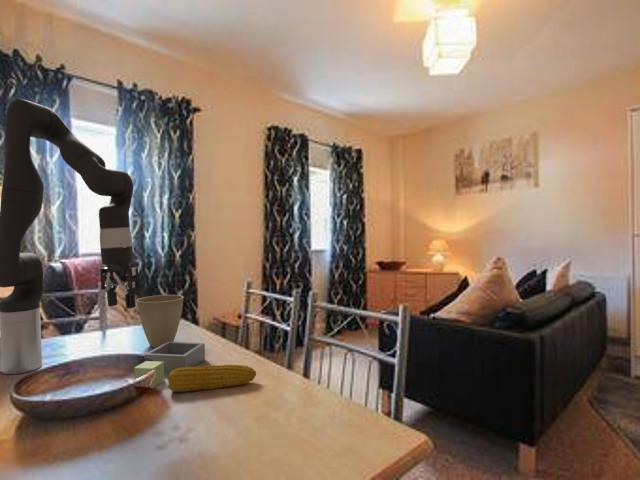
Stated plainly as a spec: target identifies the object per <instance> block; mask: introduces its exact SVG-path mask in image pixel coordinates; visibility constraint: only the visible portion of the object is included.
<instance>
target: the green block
mask: <svg viewBox="0 0 640 480" xmlns="http://www.w3.org/2000/svg"><path fill="white" fill-rule="evenodd" d="M154 369H155V370H156V375H155V378H154V380H153V381H152V383H151V385H150V388H149V389H154V388H155V387H157V386H158V385H160V384H161V383H163V382H164V381H165V373H164V362H158V361H143V362H142V363H140V364H139V365H136V366H134V370H133V371H134V380H135V379H136V378H139V377H141V376H143V375H145V374H147V373H148V372H150V371H152V370H154Z"/></svg>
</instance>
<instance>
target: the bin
mask: <svg viewBox="0 0 640 480" xmlns="http://www.w3.org/2000/svg"><path fill="white" fill-rule="evenodd" d="M205 346H206V345H205V342H187V341H186V342H185V341H174V342H166V343H165V344H163V345H161V346H159V347H154V349H152V350H150V351H148V352H146V353H144V355H143V356H144V357H143V358H150V359H152V360H153V361H158V362H164V374H168V375H169V374H170V372H171V371H173V370H175V369H178V368H180V367H195V366H196V367H197V366H199V365H200V364H201V363H202V362H203V360H204V359H205V360H206V349H205V348H206V347H205ZM205 360H204V361H205ZM200 362H201V363H200ZM199 363H200V364H199Z"/></svg>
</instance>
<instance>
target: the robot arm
mask: <svg viewBox="0 0 640 480" xmlns="http://www.w3.org/2000/svg"><path fill="white" fill-rule="evenodd" d="M5 113H6V114H5V119H4V121H5V124H4V125H5V126H4V129H5V137H4V138H5V154H4V155H5V157H4V159H5V160H4V169H3V170H4V171H3V172H4V173H3V180H2V185H1V194H0V288H3V289H5V288H12V287H13V290H12V292H11V293H10V294H8V296H6V297H4V298H3V299H2V300H0V372H1V373H2V374H4V375H18V374H25V373H28V372H32V371H35V370H37V369H39V368H41V367H42V366H43V354H42V351H43V350H42V349H43V348H42V330H41V329H42V327H41V326H42V324H41V323H42V322H41V307H40V306H41V300H42V297H43V294H44V293H43V291H44V290H43V289H44V267H43V262H42V260H41V258H40V257H39V255H37V254H35V253H32V252H21V249H22V242H23V240H24V237H25V235H26V233H27V232H28V230H29V228H30V227H31V226H32V225H33V223H35V221H36V219H37V218H38V216H39V215H40V213H41V210H42V207H43V200H44V189H45V188H44V183H43V179H42V178H41V175H40V173H39V171H38V169H37V167H36V165H35V163H34V161H33V157H32V155H31V138H34V139H42V140H45V141H47V142H49V143H50V144H53V146H56V147H57V148H58V149H59V154H60V156H61V159H62V160H63V161H64V162H65V164H67V165H68V167H70V168H71V169H72V170H73V171H75V172H76V173H77V174H79V175H80V176H81V179H82V181H83V183H85V185H86V186H87V188H88V189H89V191H91V192H93V193H94V194H96V195H99V196H101V197H110V201H109V204H108V205H104V206H101V207H100V208H99V210H98V221H99V222H98V223H99V245H100V246H99V248H100V259H101V265H103V266H107V267H100V269H99V271H100V273H99V274H100V288H101V290H102V291H104V292H105V293H106V295H107V296H106V297H107V299H106V300H107V306H108V307H115V306H118V298H117V297H118V294H117V289H118V287H120V288H121V289H122V290H123V291H124V299H125V308H126V309H133V308H135V307H136V306H137V305H136V296H135V295H136V293H137V292H139V291H140V290H141V284H140V276H139V275H140V274H139V268H138V267H137V266H136V267H130V264H131V263H134V261H135V259H134V248H133V236H132V233H131V225H130V224H131V223H130V210H131V209H130V208H131V203H132V198H133V193H134V183H133V179H132V177H131V175H130V174H129V173H128V172H126V171H125V170H124V171H123V170H119V169H118V170H117V169H111V168H106V162H105V159H103V157H101V156H100V155H99V154H98V153H97V152H95V151H94V150H93V149H92V148H90V147H89V146H88V145H87V144H86V143H84V142H83V141H82V140H81V139H80V138H78V137H77V136H76V134H74V132H73V131H72V130H71V129H70V128H69V127H68V126H67V125H66V123H65V121H63V120H62V118H61V117H60V116H59V114H57V113H56V112H55V111H54V109H51V108H50V107H47V106H46V105H42V104H39V103H36V102H33V101H30V100H27V99H23V98H15V99H13V100H11V101H10V103H9V105H8V106H7V109H6V112H5Z"/></svg>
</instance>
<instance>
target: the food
mask: <svg viewBox="0 0 640 480" xmlns="http://www.w3.org/2000/svg"><path fill="white" fill-rule="evenodd" d="M256 376H257V372H256V370H255V369H254V368H252V367H251V366H248V365H242V364H224V365H223V364H220V365H218V364H217V365H215V364H214V365H211V364H210V365H201V366H200V365H197V366H195V367H180V368H178V369H175V370H173V371H171V372H170V374H169V373H168V379H167V383H168V385H167V388H168V389H169V391H172V392H181V393H183V392H194V391H197V392H198V391H202V390H213V389H220V388H228V387H234V386H235V387H236V386H241V385H245V384H248V383H250V382H253V381H254V379H255V377H256Z"/></svg>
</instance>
